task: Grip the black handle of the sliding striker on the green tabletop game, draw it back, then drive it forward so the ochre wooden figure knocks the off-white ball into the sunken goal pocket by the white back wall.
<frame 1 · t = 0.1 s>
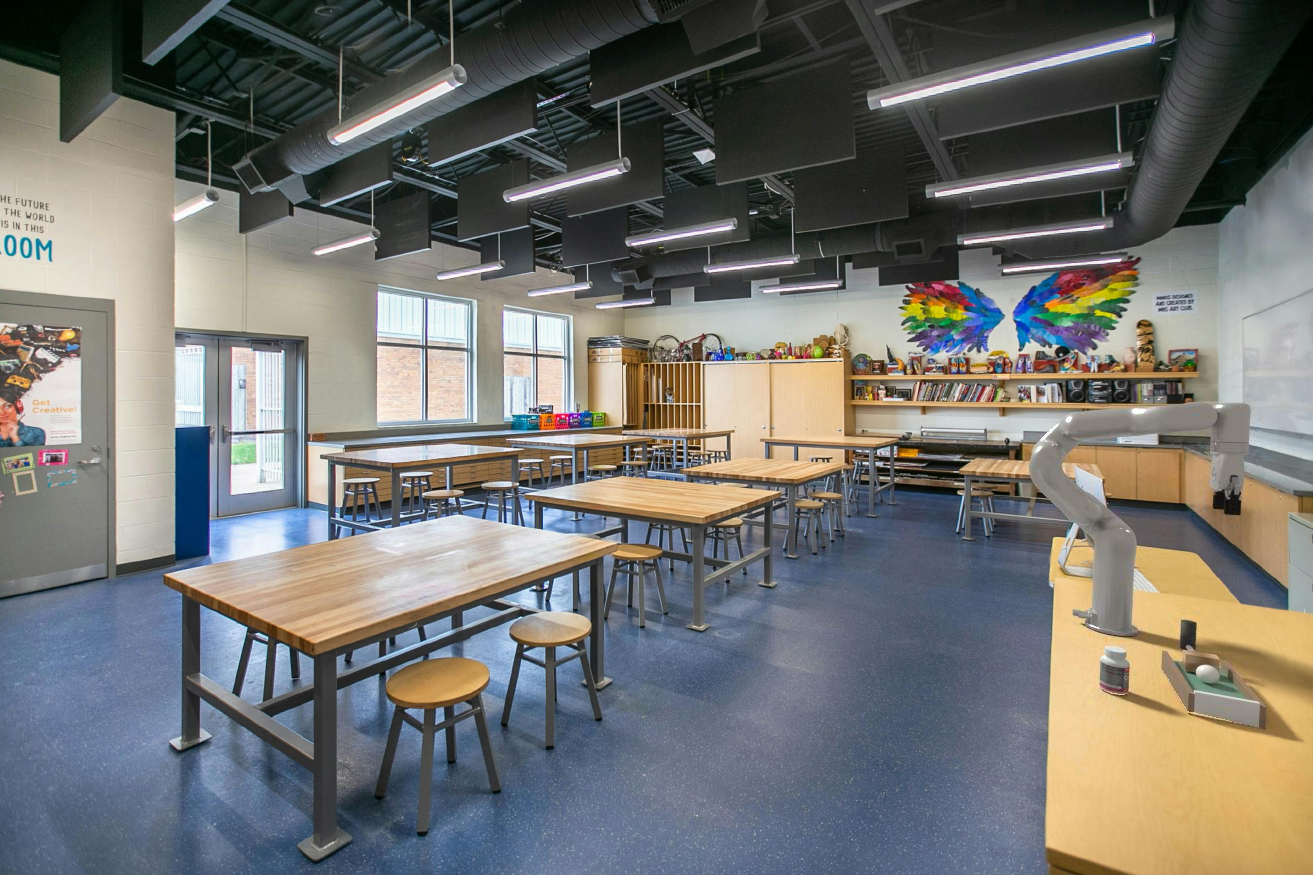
hand: (1226, 511, 163), 37 cm above the table, tool pointing down, fingers open, 9 cm apart
striker: (1194, 645, 147), point 7 cm above the table, slide at 4.0 cm
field: (1207, 695, 136), on the table
pill bottle: (1113, 691, 138), on the table
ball: (1207, 674, 137), point 4 cm above the table, touching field
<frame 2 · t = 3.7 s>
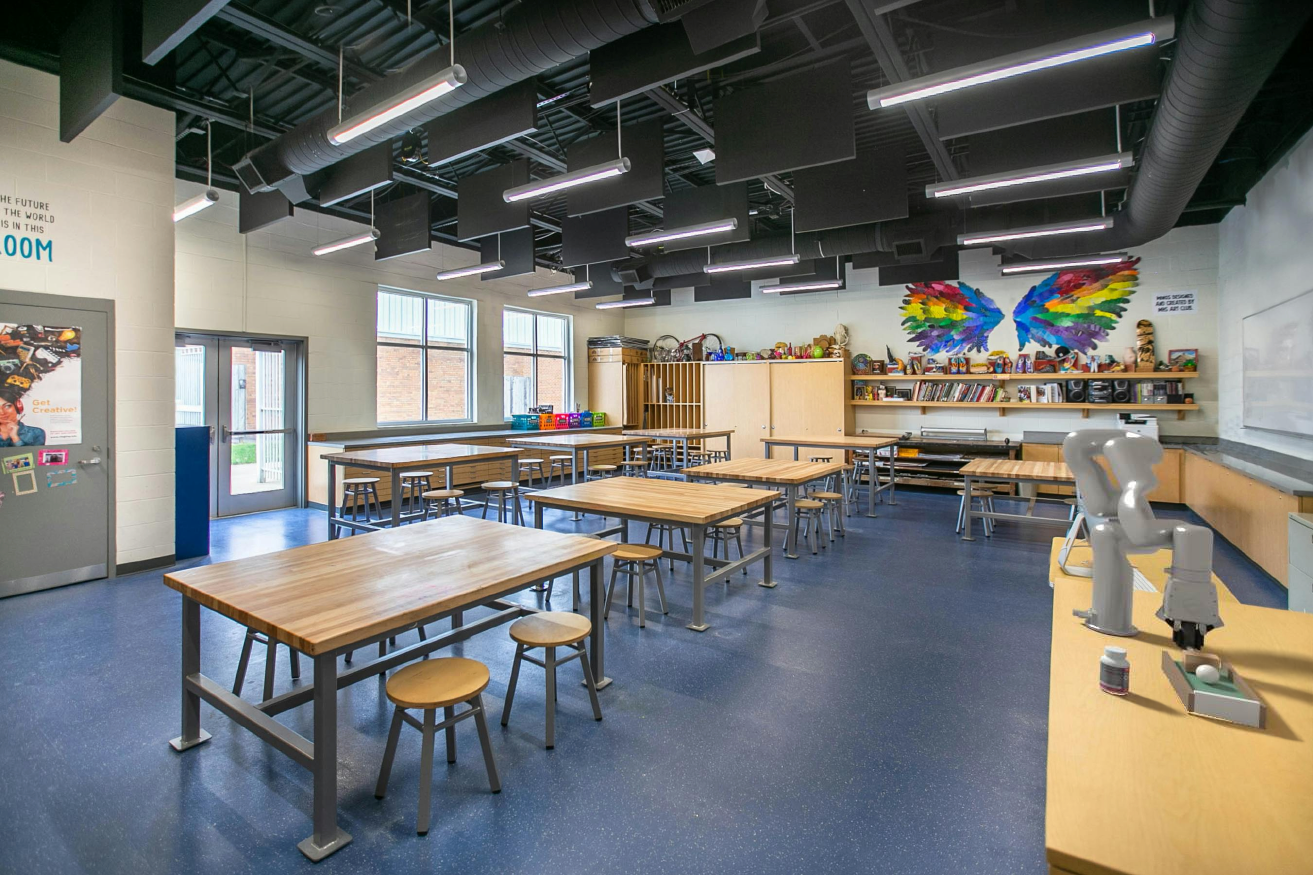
hand: (1187, 646, 152), 5 cm above the table, tool pointing down, fingers closed on striker, 3 cm apart
striker: (1194, 645, 147), point 7 cm above the table, slide at 4.0 cm, touching gripper
everything else where it was.
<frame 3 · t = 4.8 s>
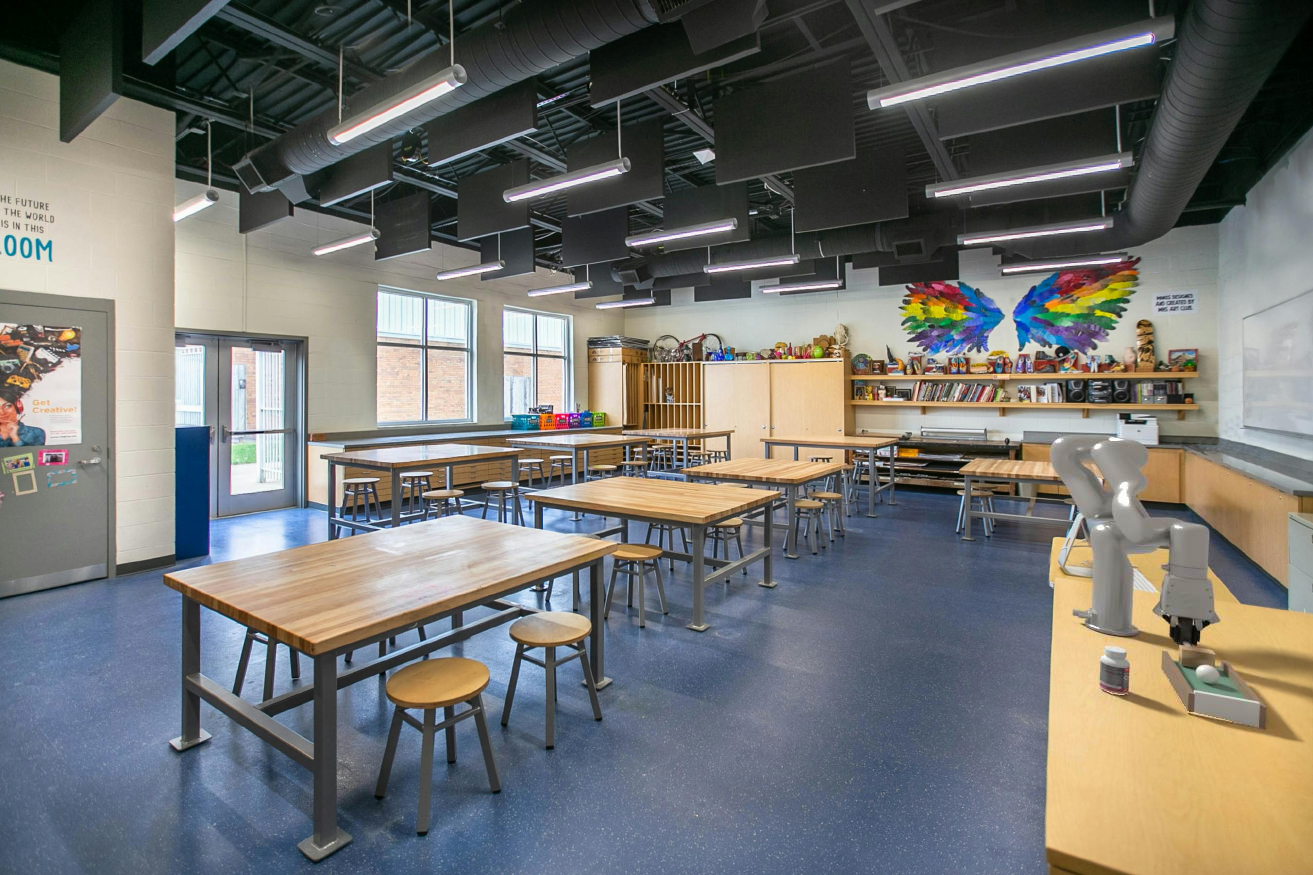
hand: (1184, 641, 155), 5 cm above the table, tool pointing down, fingers closed on striker, 3 cm apart
striker: (1190, 640, 150), point 7 cm above the table, slide at 0.5 cm, touching gripper
everything else where it was.
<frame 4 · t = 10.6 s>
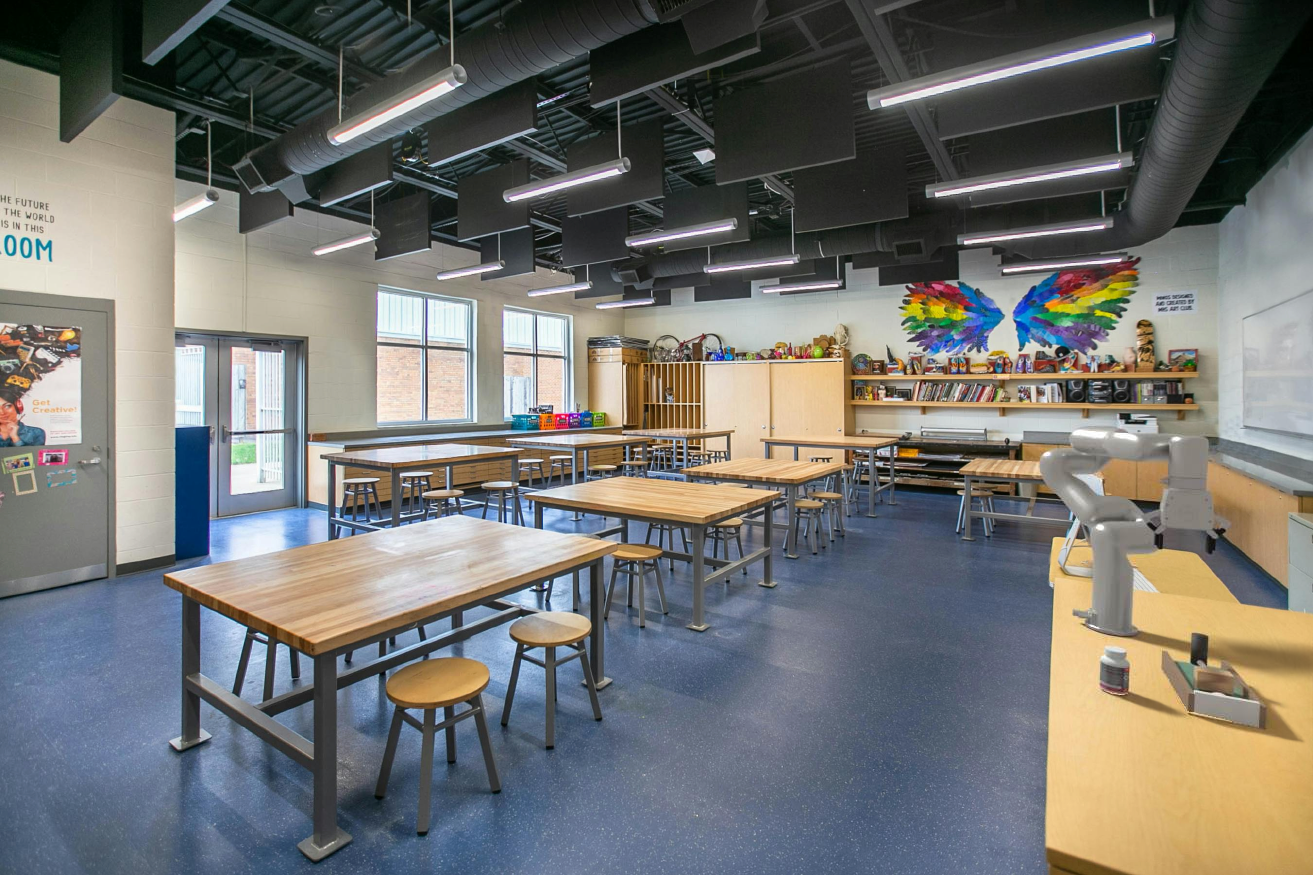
hand: (1183, 550, 154), 28 cm above the table, tool pointing down, fingers open, 9 cm apart
striker: (1206, 661, 138), point 7 cm above the table, slide at 14.4 cm
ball: (1219, 702, 129), point 2 cm above the table, tilted 123°
everything else where it was.
at the end: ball inside the target area on the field (0.6 cm from its centre), point 2.0 cm above the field's base; striker slide at 14.4 cm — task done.
